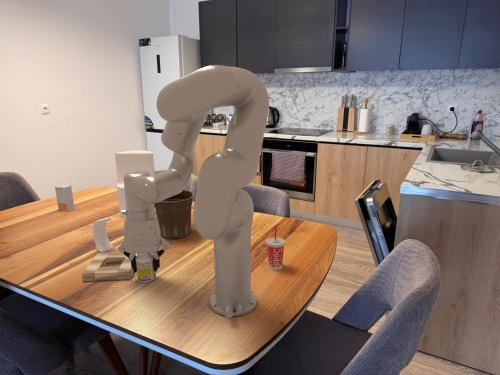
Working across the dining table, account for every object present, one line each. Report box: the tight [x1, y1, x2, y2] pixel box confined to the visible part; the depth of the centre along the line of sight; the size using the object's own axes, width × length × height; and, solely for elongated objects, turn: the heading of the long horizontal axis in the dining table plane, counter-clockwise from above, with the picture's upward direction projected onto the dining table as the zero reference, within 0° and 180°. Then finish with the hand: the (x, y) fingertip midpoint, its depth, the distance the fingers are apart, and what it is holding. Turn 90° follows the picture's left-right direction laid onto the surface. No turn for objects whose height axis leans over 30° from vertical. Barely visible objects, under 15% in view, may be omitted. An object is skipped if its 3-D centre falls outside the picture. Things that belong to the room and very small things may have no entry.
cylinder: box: [114, 150, 156, 218], centre depth 164 cm, size 17×17×28 cm
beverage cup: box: [265, 225, 286, 271], centre depth 112 cm, size 6×6×14 cm
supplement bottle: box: [136, 252, 157, 283], centre depth 106 cm, size 5×5×10 cm
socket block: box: [81, 251, 138, 282], centre depth 113 cm, size 14×14×2 cm
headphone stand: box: [91, 217, 115, 253], centre depth 126 cm, size 5×6×12 cm
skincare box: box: [54, 184, 75, 212], centre depth 169 cm, size 6×4×12 cm
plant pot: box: [154, 189, 195, 240], centre depth 139 cm, size 16×16×16 cm
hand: (146, 269), depth 106 cm, fingers closed on supplement bottle, 5 cm apart
